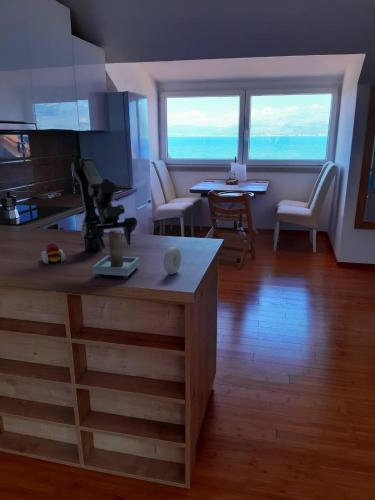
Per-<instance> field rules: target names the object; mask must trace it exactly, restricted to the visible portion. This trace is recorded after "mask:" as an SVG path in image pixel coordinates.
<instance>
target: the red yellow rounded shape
mask: <svg viewBox="0 0 375 500" xmlns="http://www.w3.org/2000/svg"><path fill="white" fill-rule="evenodd" d="M45 247H46V248H45V250H43V251H42V252H41V254H40V257H41V260H42V262H43V263H44V264H49V262H54V263H56V262H58V261H60V262H61V263H62V262H64V261H65V260H66V254H65V253H64V252H63V251H64V250H63V249H60V247H59V246H58V244H56V243H55V242H50V243H48V244H47V245H46V246H45Z"/></svg>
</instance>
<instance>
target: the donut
mask: <svg viewBox="0 0 375 500" xmlns="http://www.w3.org/2000/svg"><path fill="white" fill-rule="evenodd" d="M181 263H182V254H181V251H180V249H179V248H178V247H177V246H170V247H169V248H168V249H167V250H166V251H165V254H164V256H163V268H164V271H165V272H166V274H169V275H174V274H176V273H177V272H178V271H179V270H180V267H181Z"/></svg>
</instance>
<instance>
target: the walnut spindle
mask: <svg viewBox="0 0 375 500" xmlns="http://www.w3.org/2000/svg"><path fill="white" fill-rule="evenodd" d="M108 243H109V256H110V260H111V267H122V266H123V257H124V255H123V253H124V252H123V238H122V230H110V231H108Z"/></svg>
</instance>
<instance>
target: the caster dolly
mask: <svg viewBox="0 0 375 500" xmlns="http://www.w3.org/2000/svg"><path fill="white" fill-rule="evenodd" d="M140 265H141V258H140V257H138V256H137V257H135V256H123V266H122V267H111V260H110V255H105V257H103V258H102V259H101V260H99V261H98V262H96V263H95V264H94V265H92V267H91V268H92V269H91V270H92V275H93V274H95V276H96V278H97V279H98V278H101V277H102V275H109V276H122V279H123V280H129V275H130V274H132V273H133V272H134V271H137V270H138V267H139V266H140Z"/></svg>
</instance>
